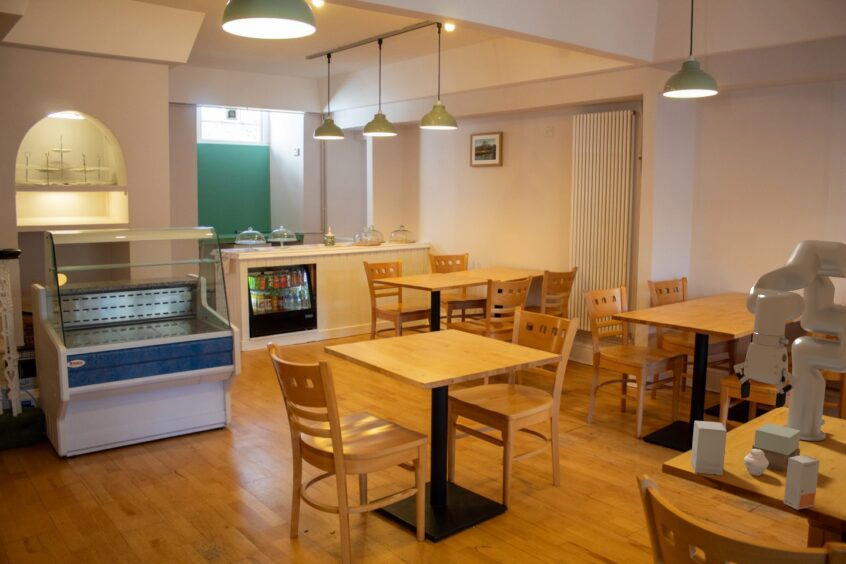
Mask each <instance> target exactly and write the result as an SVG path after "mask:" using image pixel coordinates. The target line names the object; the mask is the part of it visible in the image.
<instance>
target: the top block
mask: <svg viewBox="0 0 846 564" xmlns="http://www.w3.org/2000/svg"><path fill="white" fill-rule="evenodd" d="M783 426H784V425H779V424H774V423H769V422H766V423H764V424H763V425H761V426H760V427H758V428H756V429H755V431H754V432H755V433H754V443H753V445H754V447H757V448H761V449H765V450H769V451H773V452H777V453H780V454H784V455H789V454H791V453H792V452H793V451H795V450H796V449H800V441H801V439H800V430H796V429H791V428H787V427H783Z"/></svg>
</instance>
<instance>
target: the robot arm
mask: <svg viewBox="0 0 846 564" xmlns="http://www.w3.org/2000/svg"><path fill="white" fill-rule="evenodd" d="M831 278H838V279H839V278H841V279H846V243H843V242H840V241H828V240H817V239H816V240H815V239H814V240H813V239H811V240H810V239H807V240H806V239H805V240H801V241H800V242H798V243H797V244H796V245H795V246H794V248H793V250H792V252H791V253H790V254H789V256H788V258H787V260H786V262H785V263H784V265H783V266H781V267H778V268H775V269H773V270H771V271H769V272H767V273H764V274H762V275H761V276H760V277H758V278H757V279H756V280H755V282H754V283H753V284H752V286H751V288H750V289H749V292H748V294H747V296H746V301H745V303H746V304H745V305H746V309H747V310H748V312H749V313H750V314H752V315H754V321H753V333H752V342H750V343H749V345H748V348H747V352H746V356H745V361H744V362H741V363H738V364H735V365H733V369H734V372H735V376H736V377H737V379H738V380H739V384H741V385H740V393H739V394H740V399H746V398H749V397H750V394H751V383H750V381H757V382H761V383H765V384H769V385H774V386H775V388H776V389H777V391H778V392H777V393H776V397H775V404H774V405H775V406H774V407H775V408H777V409H780V408H783V407H784V406H785V404H786V401H787V400H786V399H787V393H789V392H790V393H789V402H788V411H787V424H784V425H782V426H783V427H787V428H791V429H796V430H800V441H801V440H802V441H809V442H819V441H824V440H825V439H826V437H827V436H826V433H825V432H824V431H822V426H824V425H825V424H826V421H825V420H824V419H823V411H824V403H825V396H826V395H825V393H826V392H825V391H826V380H825V377H824V376H823V374H822V372H821V371H820V370H824V371H829V372H835V373H841V374H842V373H844V374H846V305H839V304H835V300H834V299H835V291H836V288H835V284H834V282H833V281H832V279H831ZM797 290H798V291H799V290H803V294H802V295H801V294H799V293H797V292H794V291H797ZM799 318H800V327H801V328H802V330H804V331H806V332H809V333H814V334H819V335H820V334H821V335H826V336H831V337H837V338H838V340H837V339H828V338H822V337H816V336H807V335H804V336H800V337H797V338H795V340H794V341H793V342H792V344H791V353H790V354H791V364H792V368H791V369H792V371H791V372H789V355H788V348H787V346H784V345H789V342H790V341H789V339H787V338H786V335H785V333H786V332H785V331H786V324H787V323H786V322H787V320H788V321H789V320H790V321H794V320H797V319H799ZM743 368H744V369H743ZM742 369H743V371H742ZM787 381H789V382H788V384H786V383H787Z"/></svg>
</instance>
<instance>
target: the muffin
mask: <svg viewBox="0 0 846 564" xmlns="http://www.w3.org/2000/svg"><path fill="white" fill-rule="evenodd" d="M743 461H744V465H745V467H746V469H747V472H748V473H749V474H750V475H753V476H758V477H759V476H762V475H763V474H764V472H765V471H766V470H767V468H768V467H767V466H768V465H769V462H768V460H767V459H766V457H765V456H764V452H763V451H762V450H760V449H750V451H749V453H748V454H747V455H745V457H744V459H743Z"/></svg>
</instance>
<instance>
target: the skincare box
mask: <svg viewBox="0 0 846 564" xmlns="http://www.w3.org/2000/svg"><path fill="white" fill-rule="evenodd" d="M819 469H820V460H819V459H817V458H814V457H812V456H809V455H808V454H804V455H803V454H802V455H800V456H795V457H790V458H789V459H788V467H787V470H786V479H785V487H784V495H783V504H784V505H787V506H789V507H790V508H793V509H795V510H797V511H798V510H803V509H807V508H813V507H815V502H816V494H817V487H818V486H817V485H818V476H819Z"/></svg>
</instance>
